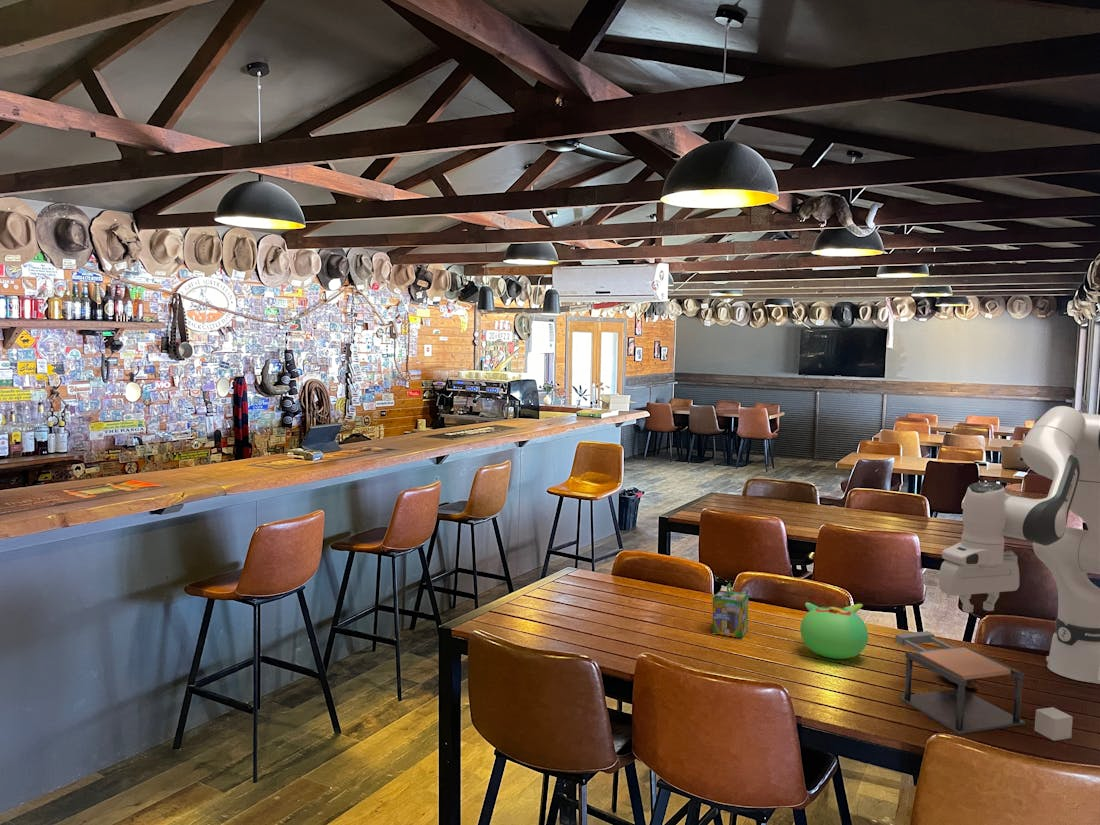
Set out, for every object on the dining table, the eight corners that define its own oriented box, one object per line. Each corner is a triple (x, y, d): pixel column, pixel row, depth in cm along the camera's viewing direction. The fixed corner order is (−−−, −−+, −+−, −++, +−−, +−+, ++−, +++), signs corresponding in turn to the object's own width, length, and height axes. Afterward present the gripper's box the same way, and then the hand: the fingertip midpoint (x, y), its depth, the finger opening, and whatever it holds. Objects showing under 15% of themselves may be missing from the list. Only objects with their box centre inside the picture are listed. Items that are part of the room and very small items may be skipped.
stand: (899, 698, 197) (901, 651, 197) (961, 690, 203) (964, 644, 202) (958, 734, 179) (961, 682, 178) (1025, 724, 185) (1028, 674, 184)
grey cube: (1051, 728, 183) (1052, 707, 183) (1071, 738, 179) (1072, 716, 178) (1034, 730, 182) (1035, 709, 182) (1053, 741, 177) (1055, 719, 177)
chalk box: (741, 639, 236) (743, 590, 235) (711, 634, 241) (712, 586, 239) (748, 630, 245) (750, 583, 244) (719, 625, 249) (720, 578, 248)
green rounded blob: (797, 661, 220) (800, 609, 219) (800, 641, 236) (802, 592, 235) (867, 671, 214) (870, 618, 213) (866, 649, 230) (868, 600, 229)
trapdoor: (887, 642, 205) (888, 635, 204) (933, 637, 209) (934, 630, 209) (961, 682, 182) (961, 673, 181) (1011, 676, 186) (1011, 667, 186)
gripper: (1006, 547, 191) (1002, 603, 192) (936, 551, 185) (932, 609, 186) (1028, 553, 185) (1024, 612, 186) (957, 558, 179) (953, 618, 180)
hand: (978, 611), depth 186 cm, fingers open, 5 cm apart
